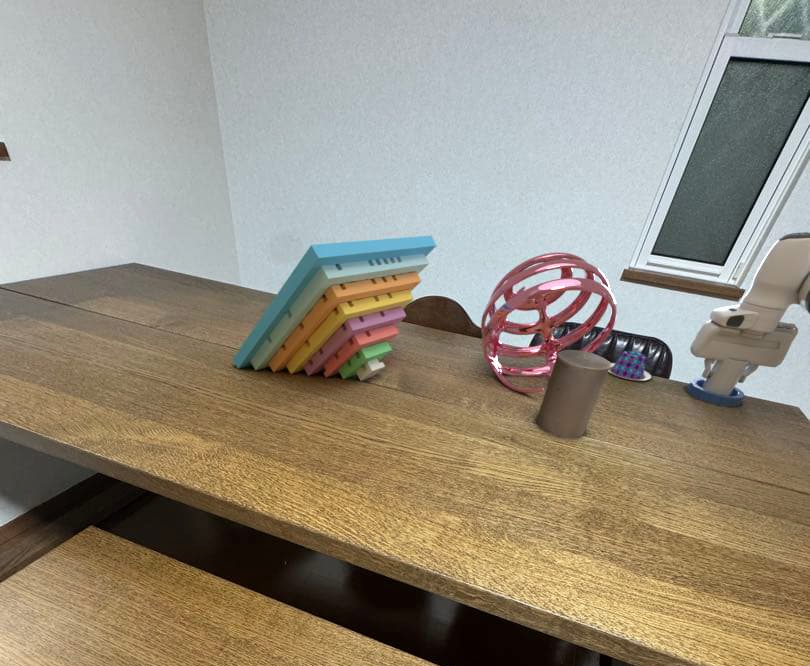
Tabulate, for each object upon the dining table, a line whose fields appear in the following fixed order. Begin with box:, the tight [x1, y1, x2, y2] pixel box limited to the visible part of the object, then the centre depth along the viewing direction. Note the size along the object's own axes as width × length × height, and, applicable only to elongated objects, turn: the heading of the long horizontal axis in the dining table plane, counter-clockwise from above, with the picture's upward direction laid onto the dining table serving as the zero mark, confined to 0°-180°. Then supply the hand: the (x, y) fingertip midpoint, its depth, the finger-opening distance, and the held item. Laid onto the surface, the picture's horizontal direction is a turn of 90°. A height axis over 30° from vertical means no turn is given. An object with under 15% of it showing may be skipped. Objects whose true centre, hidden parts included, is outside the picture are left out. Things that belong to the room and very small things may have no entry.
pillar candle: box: [535, 349, 612, 439], centre depth 85 cm, size 10×10×15 cm
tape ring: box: [686, 377, 745, 408], centre depth 112 cm, size 12×12×2 cm
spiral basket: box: [480, 251, 618, 394], centre depth 98 cm, size 28×28×27 cm
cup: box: [701, 358, 749, 396], centre depth 109 cm, size 6×6×9 cm
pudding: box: [608, 350, 652, 382], centre depth 118 cm, size 12×12×5 cm
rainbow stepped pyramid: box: [232, 235, 437, 382], centre depth 97 cm, size 35×18×35 cm
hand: (721, 379), depth 110 cm, fingers closed on cup, 6 cm apart
